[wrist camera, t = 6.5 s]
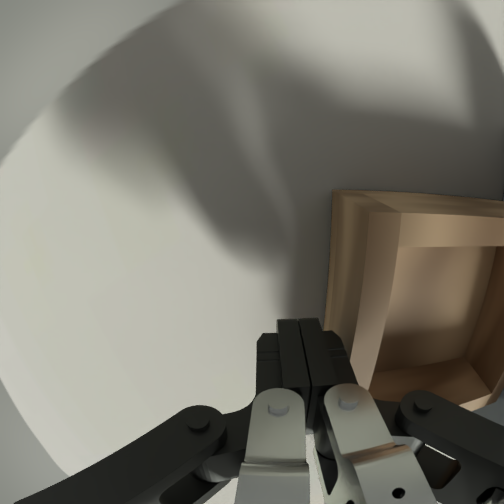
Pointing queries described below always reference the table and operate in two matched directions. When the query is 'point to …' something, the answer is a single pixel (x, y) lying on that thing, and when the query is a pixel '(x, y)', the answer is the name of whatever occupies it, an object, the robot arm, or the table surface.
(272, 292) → the table surface
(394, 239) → the socket block
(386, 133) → the table surface
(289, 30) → the table surface
